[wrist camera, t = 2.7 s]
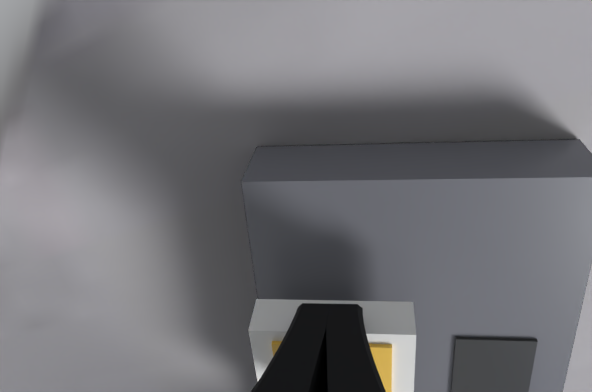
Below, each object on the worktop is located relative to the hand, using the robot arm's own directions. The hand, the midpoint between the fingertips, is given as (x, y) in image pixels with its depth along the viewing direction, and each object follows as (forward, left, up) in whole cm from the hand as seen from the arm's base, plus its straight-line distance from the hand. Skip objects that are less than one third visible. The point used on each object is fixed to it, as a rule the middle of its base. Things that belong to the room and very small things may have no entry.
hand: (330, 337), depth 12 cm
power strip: (-7, -2, -4) cm, 9 cm away
